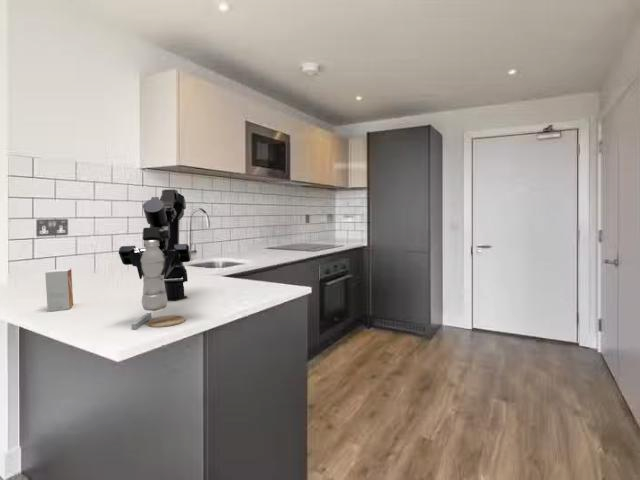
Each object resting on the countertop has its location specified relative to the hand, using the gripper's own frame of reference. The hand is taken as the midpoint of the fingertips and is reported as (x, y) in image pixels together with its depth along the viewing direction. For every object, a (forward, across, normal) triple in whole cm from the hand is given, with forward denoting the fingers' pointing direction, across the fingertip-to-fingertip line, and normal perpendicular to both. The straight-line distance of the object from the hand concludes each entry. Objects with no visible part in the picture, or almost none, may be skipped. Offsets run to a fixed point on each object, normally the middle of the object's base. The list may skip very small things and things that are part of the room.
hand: (152, 277), depth 105 cm
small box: (-12, -36, +32) cm, 49 cm away
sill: (+8, -4, +11) cm, 14 cm away
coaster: (+8, +3, +10) cm, 14 cm away
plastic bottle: (+6, 0, +8) cm, 10 cm away
